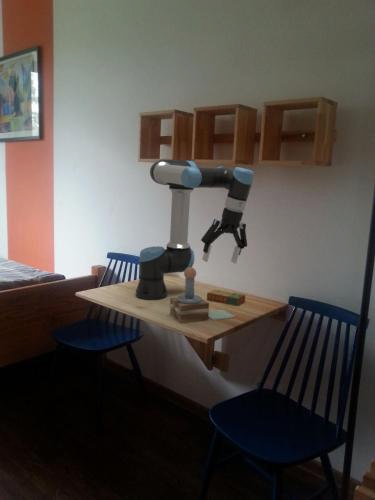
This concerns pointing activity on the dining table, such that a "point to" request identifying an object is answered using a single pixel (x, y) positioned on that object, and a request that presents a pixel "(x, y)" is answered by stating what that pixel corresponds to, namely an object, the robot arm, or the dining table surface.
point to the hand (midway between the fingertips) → (219, 261)
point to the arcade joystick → (189, 288)
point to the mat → (219, 315)
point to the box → (189, 311)
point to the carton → (226, 297)
